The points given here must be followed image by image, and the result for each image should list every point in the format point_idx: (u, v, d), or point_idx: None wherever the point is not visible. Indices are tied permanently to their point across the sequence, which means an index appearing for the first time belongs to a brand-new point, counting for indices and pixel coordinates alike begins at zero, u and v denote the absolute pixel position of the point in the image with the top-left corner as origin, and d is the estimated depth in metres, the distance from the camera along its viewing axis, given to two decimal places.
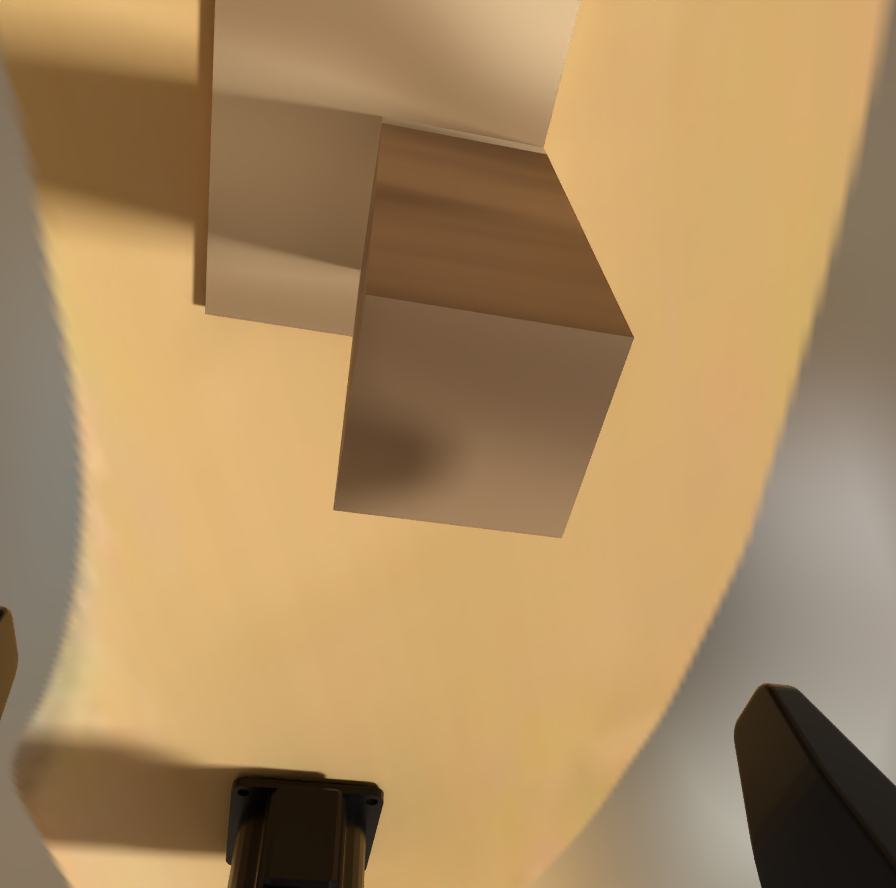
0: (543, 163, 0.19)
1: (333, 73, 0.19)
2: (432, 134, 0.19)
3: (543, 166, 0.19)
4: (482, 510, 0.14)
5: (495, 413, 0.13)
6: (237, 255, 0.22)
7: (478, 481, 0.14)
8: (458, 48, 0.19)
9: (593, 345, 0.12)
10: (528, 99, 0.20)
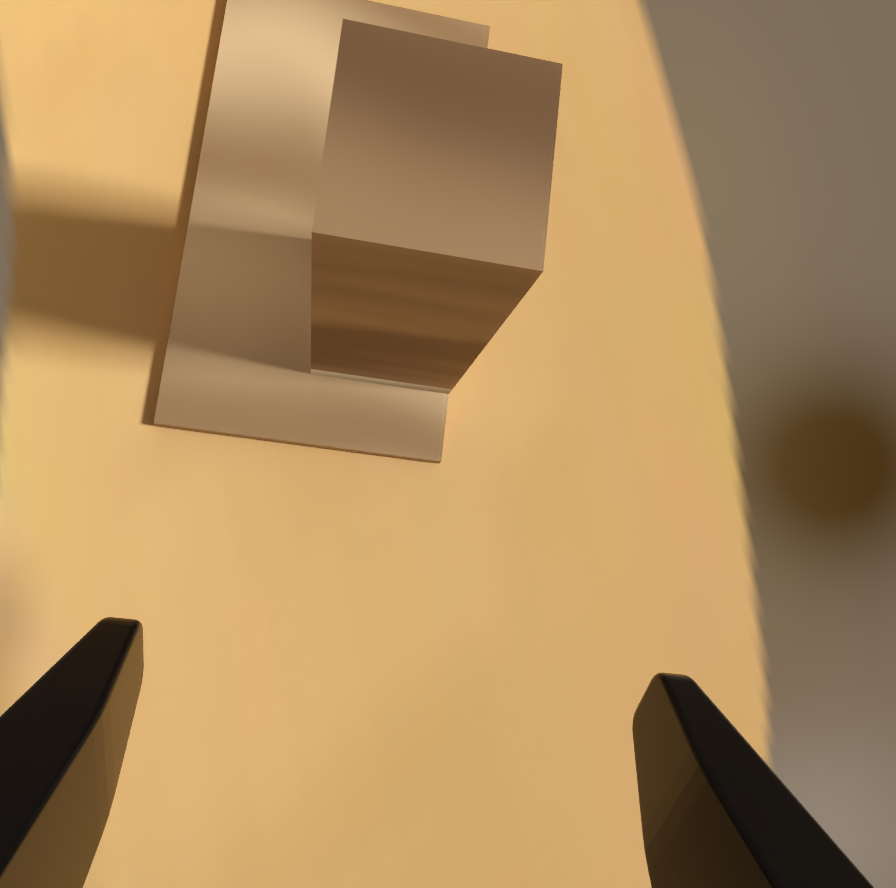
0: None
1: (289, 210, 0.24)
2: None
3: None
4: (460, 235, 0.14)
5: (459, 128, 0.15)
6: (193, 362, 0.23)
7: (452, 200, 0.14)
8: None
9: (531, 69, 0.15)
10: None
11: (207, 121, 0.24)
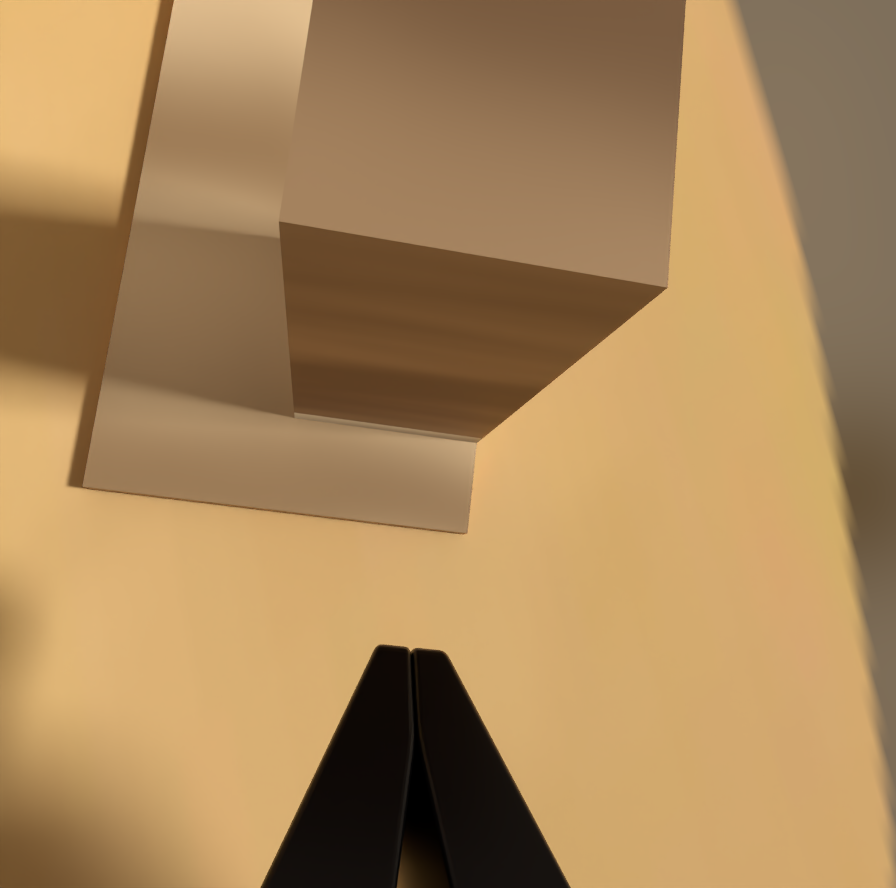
0: None
1: (267, 202, 0.18)
2: None
3: None
4: (530, 227, 0.08)
5: (527, 52, 0.09)
6: (137, 404, 0.17)
7: (516, 170, 0.09)
8: None
9: None
10: None
11: (159, 85, 0.18)
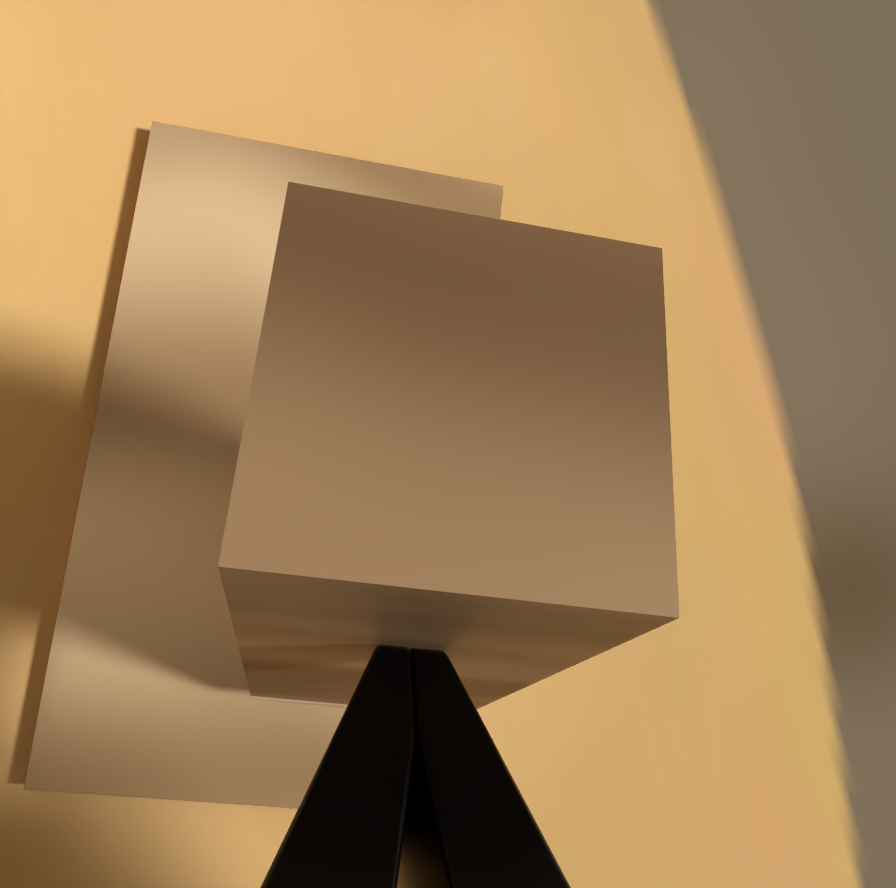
0: None
1: (226, 459, 0.17)
2: None
3: None
4: (515, 555, 0.07)
5: (500, 358, 0.08)
6: (85, 692, 0.16)
7: (496, 488, 0.07)
8: None
9: (611, 257, 0.09)
10: None
11: (113, 335, 0.17)
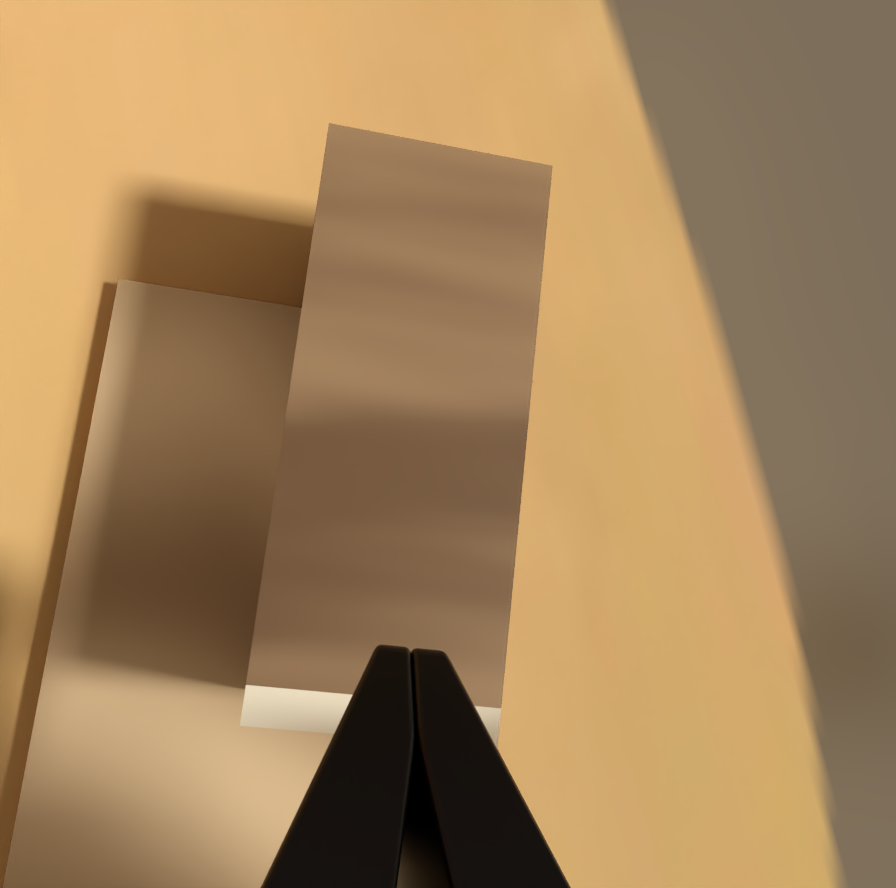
0: None
1: (196, 648, 0.16)
2: None
3: None
4: None
5: None
6: None
7: None
8: None
9: None
10: None
11: (75, 516, 0.16)
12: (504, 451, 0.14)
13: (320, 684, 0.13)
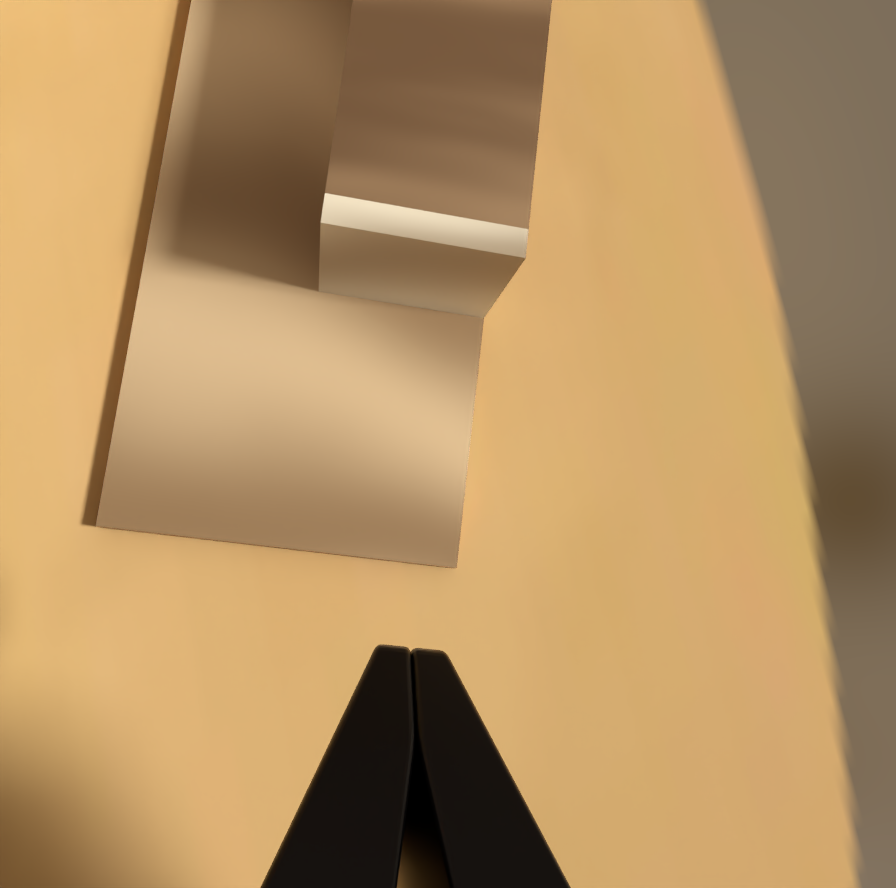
0: None
1: (268, 254, 0.19)
2: None
3: None
4: None
5: None
6: (147, 447, 0.18)
7: None
8: None
9: None
10: None
11: (167, 142, 0.19)
12: (530, 37, 0.17)
13: (383, 198, 0.16)
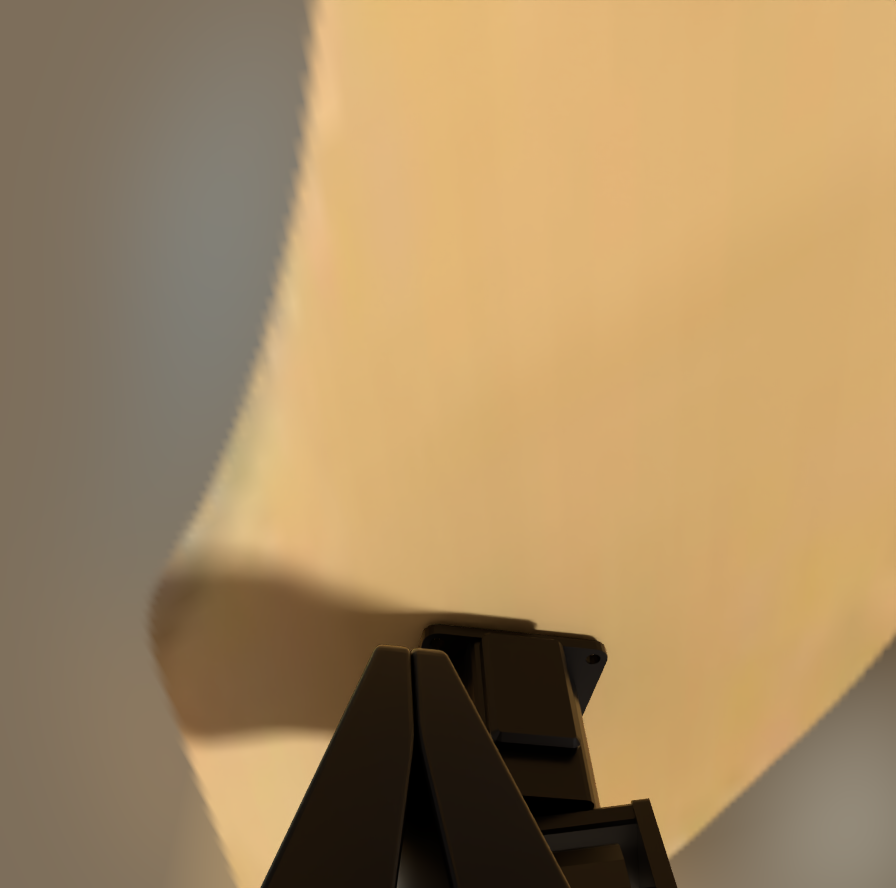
0: None
1: None
2: None
3: None
4: None
5: None
6: None
7: None
8: None
9: None
10: None
11: None
12: None
13: None
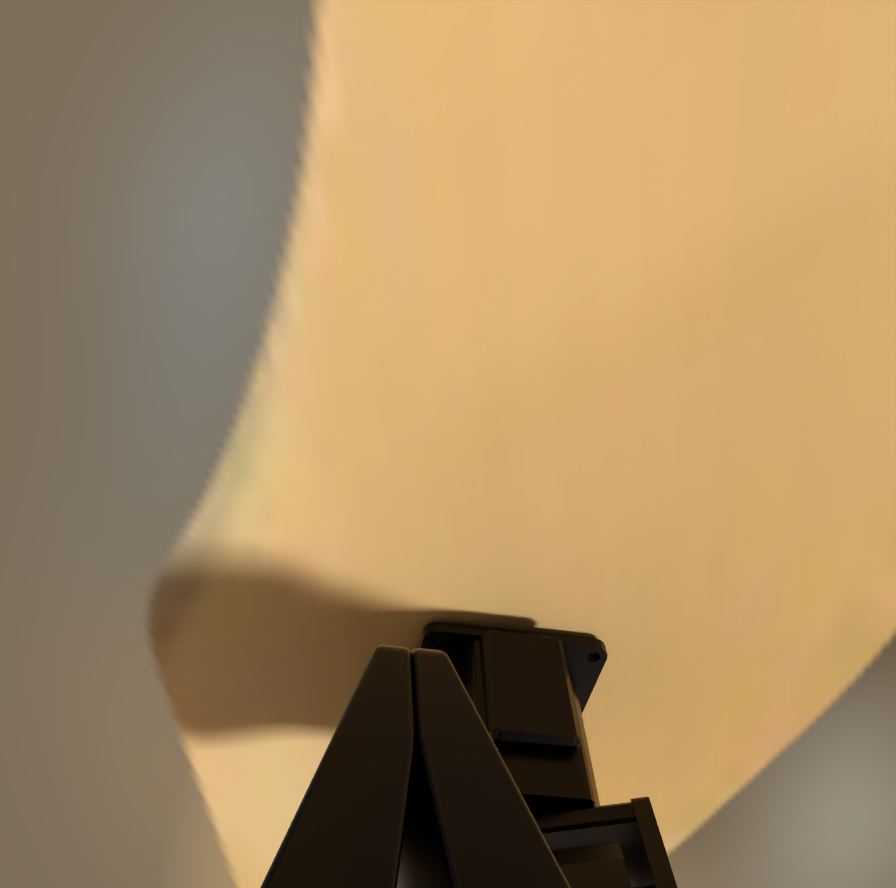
0: None
1: None
2: None
3: None
4: None
5: None
6: None
7: None
8: None
9: None
10: None
11: None
12: None
13: None
